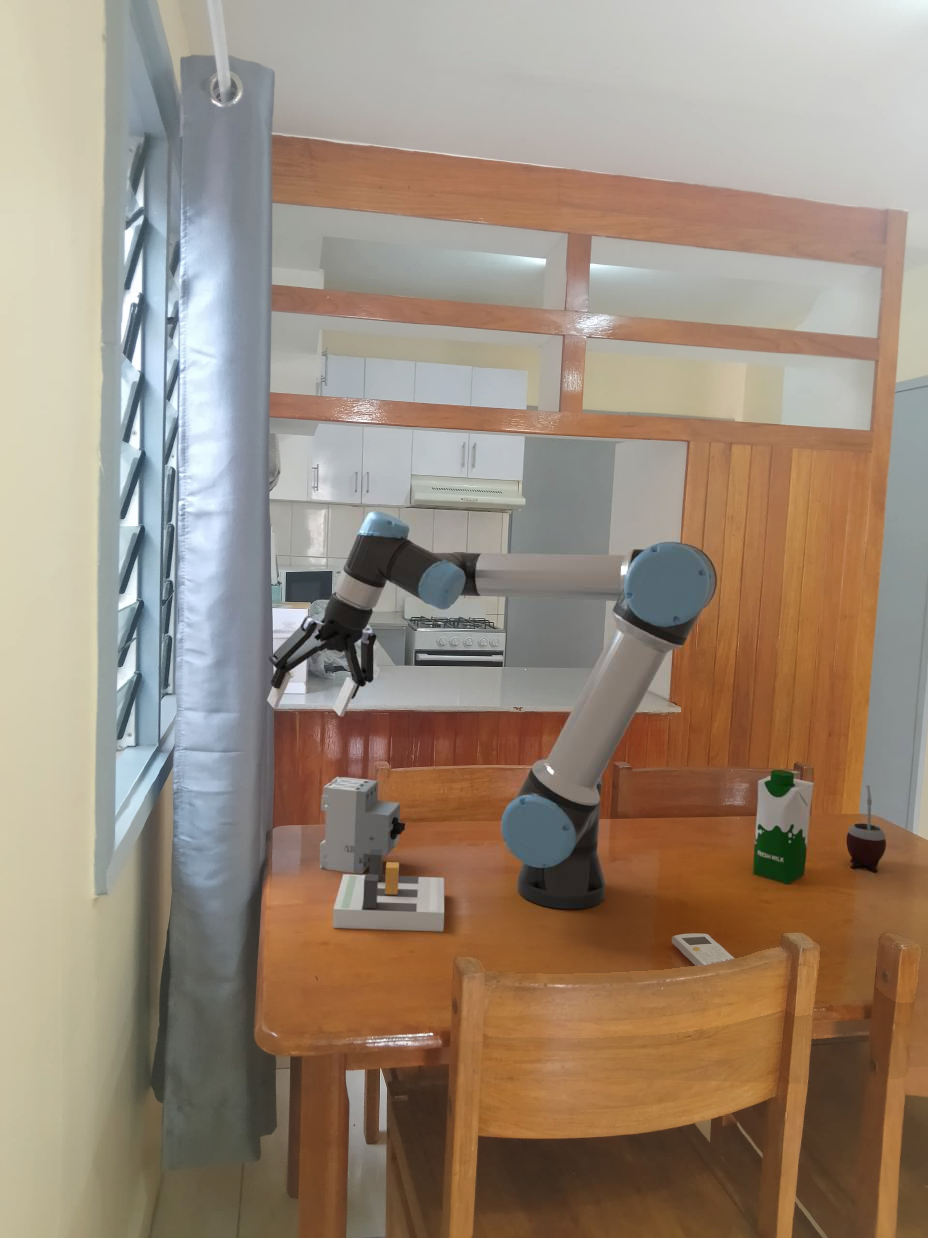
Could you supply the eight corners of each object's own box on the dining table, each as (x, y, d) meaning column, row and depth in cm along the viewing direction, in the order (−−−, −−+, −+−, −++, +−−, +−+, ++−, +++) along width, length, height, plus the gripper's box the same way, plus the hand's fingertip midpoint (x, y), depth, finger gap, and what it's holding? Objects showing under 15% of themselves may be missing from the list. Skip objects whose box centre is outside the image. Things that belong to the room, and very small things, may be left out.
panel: (443, 895, 151) (443, 877, 151) (443, 931, 137) (444, 912, 137) (342, 891, 151) (343, 874, 150) (332, 928, 137) (333, 908, 137)
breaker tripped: (398, 888, 145) (399, 862, 145) (397, 894, 143) (398, 868, 142) (385, 888, 145) (386, 862, 144) (384, 894, 142) (385, 867, 142)
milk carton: (746, 873, 168) (754, 769, 166) (766, 862, 174) (774, 762, 173) (791, 887, 162) (800, 780, 160) (811, 875, 168) (820, 771, 167)
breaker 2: (377, 902, 139) (378, 874, 139) (376, 908, 137) (377, 880, 137) (364, 901, 139) (365, 874, 139) (363, 908, 137) (364, 880, 137)
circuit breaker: (395, 878, 158) (398, 795, 156) (319, 868, 160) (321, 787, 159) (406, 863, 165) (409, 784, 164) (333, 854, 168) (336, 776, 166)
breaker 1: (381, 875, 150) (382, 850, 150) (380, 880, 148) (381, 855, 148) (369, 874, 150) (370, 849, 150) (368, 880, 148) (369, 854, 147)
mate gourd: (864, 875, 170) (871, 798, 168) (833, 861, 177) (839, 787, 176) (893, 871, 172) (900, 796, 171) (861, 857, 180) (868, 784, 178)
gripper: (399, 604, 161) (353, 705, 166) (281, 575, 144) (233, 689, 149) (421, 622, 156) (373, 726, 160) (300, 595, 139) (250, 712, 144)
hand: (305, 708), depth 155 cm, fingers open, 13 cm apart
